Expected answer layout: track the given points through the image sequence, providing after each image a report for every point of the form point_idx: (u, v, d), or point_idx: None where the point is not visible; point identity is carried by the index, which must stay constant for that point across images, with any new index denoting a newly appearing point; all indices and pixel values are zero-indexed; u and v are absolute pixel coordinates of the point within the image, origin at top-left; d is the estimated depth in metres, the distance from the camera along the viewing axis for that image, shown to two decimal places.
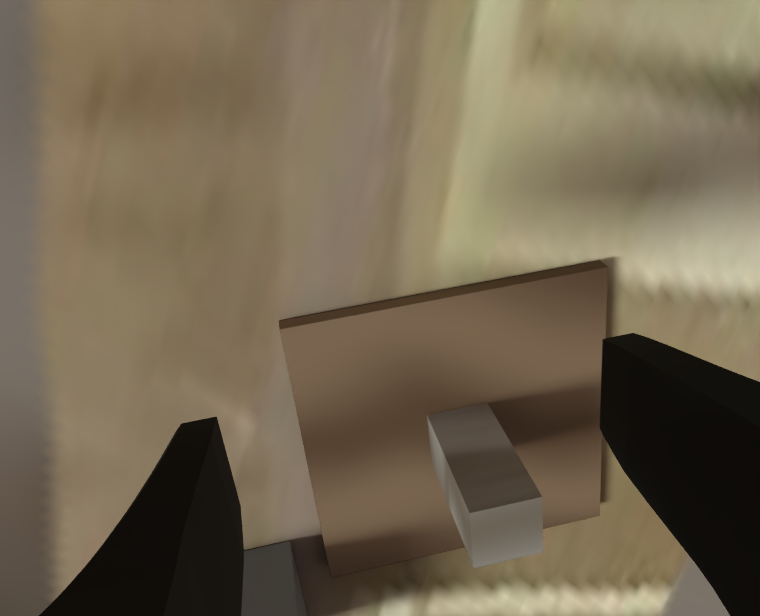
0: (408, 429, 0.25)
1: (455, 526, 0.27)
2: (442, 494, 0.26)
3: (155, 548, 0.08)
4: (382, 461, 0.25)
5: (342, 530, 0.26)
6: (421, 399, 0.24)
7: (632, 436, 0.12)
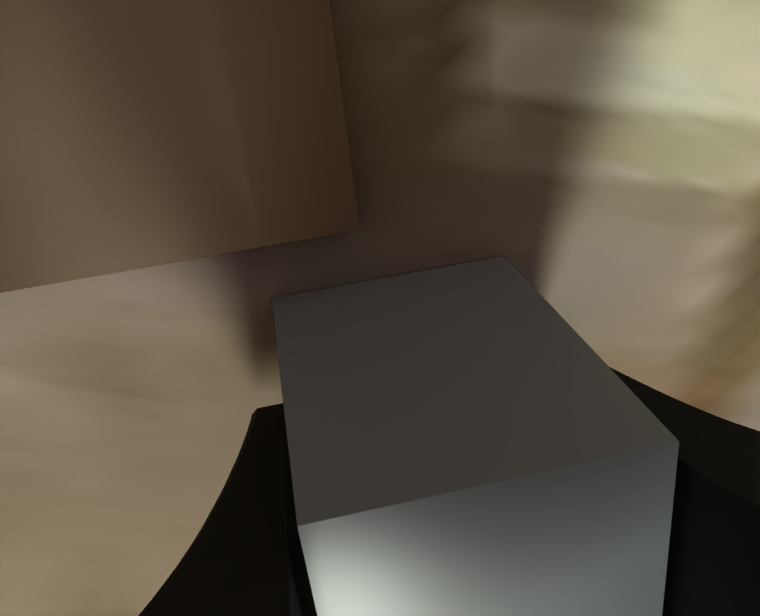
0: None
1: None
2: None
3: (260, 525, 0.09)
4: (4, 121, 0.10)
5: (220, 209, 0.11)
6: None
7: None
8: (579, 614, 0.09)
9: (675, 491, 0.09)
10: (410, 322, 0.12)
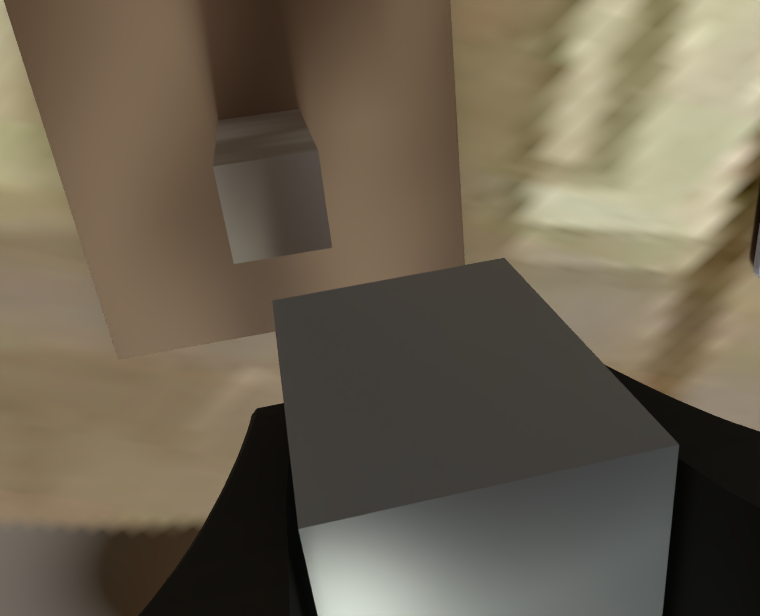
0: None
1: (418, 147, 0.20)
2: (361, 169, 0.20)
3: (261, 524, 0.09)
4: None
5: None
6: (210, 207, 0.20)
7: None
8: None
9: (675, 491, 0.09)
10: (411, 324, 0.12)
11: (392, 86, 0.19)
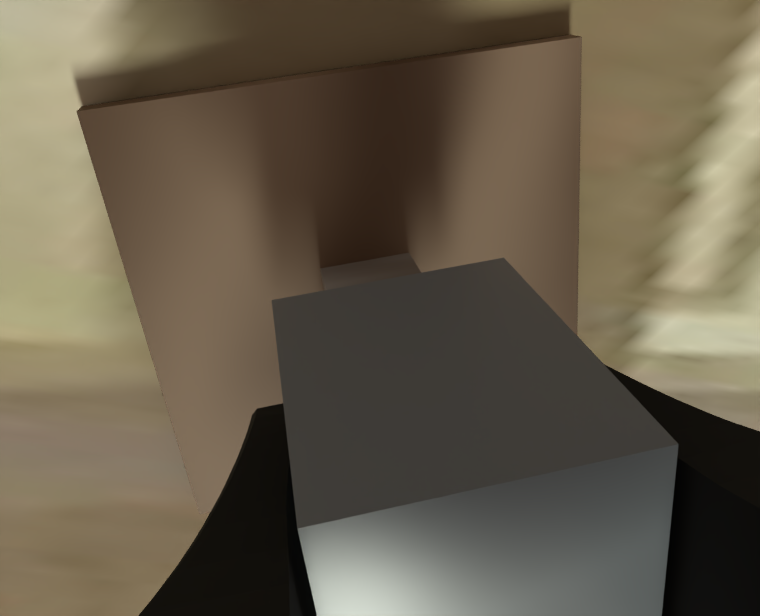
0: None
1: (535, 285, 0.18)
2: None
3: (260, 525, 0.09)
4: None
5: None
6: None
7: None
8: None
9: (675, 491, 0.09)
10: (410, 323, 0.12)
11: (511, 225, 0.17)
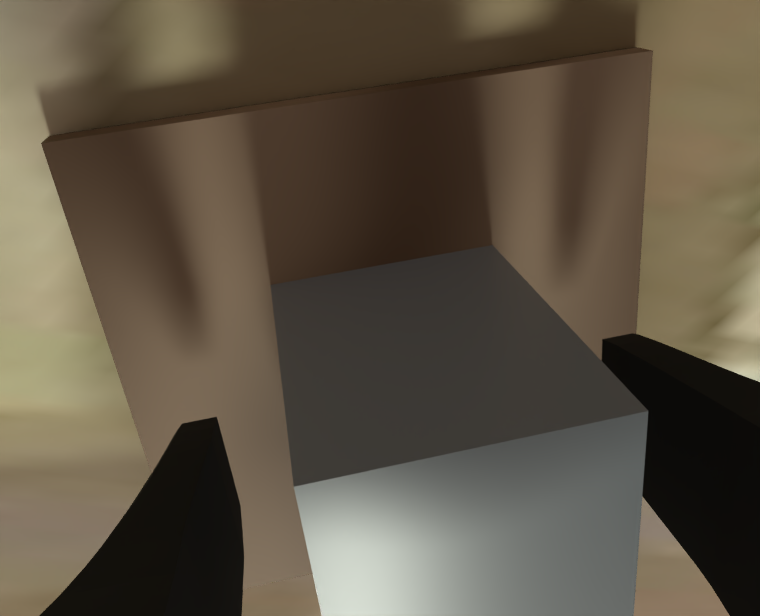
0: None
1: (587, 339, 0.16)
2: None
3: (154, 548, 0.08)
4: None
5: None
6: None
7: None
8: (558, 575, 0.10)
9: None
10: (402, 306, 0.12)
11: (561, 271, 0.15)
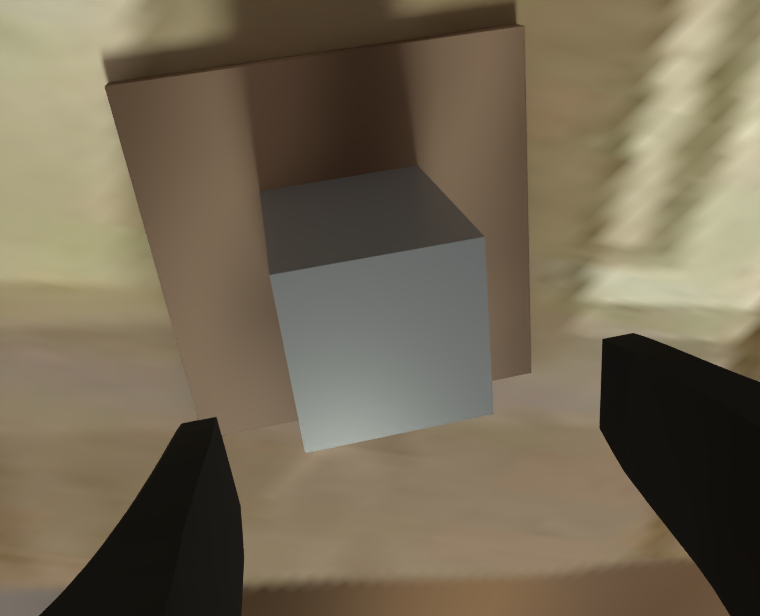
0: None
1: (491, 239, 0.21)
2: None
3: (154, 548, 0.08)
4: None
5: None
6: None
7: (632, 436, 0.12)
8: (438, 352, 0.16)
9: None
10: (348, 198, 0.18)
11: (469, 186, 0.20)
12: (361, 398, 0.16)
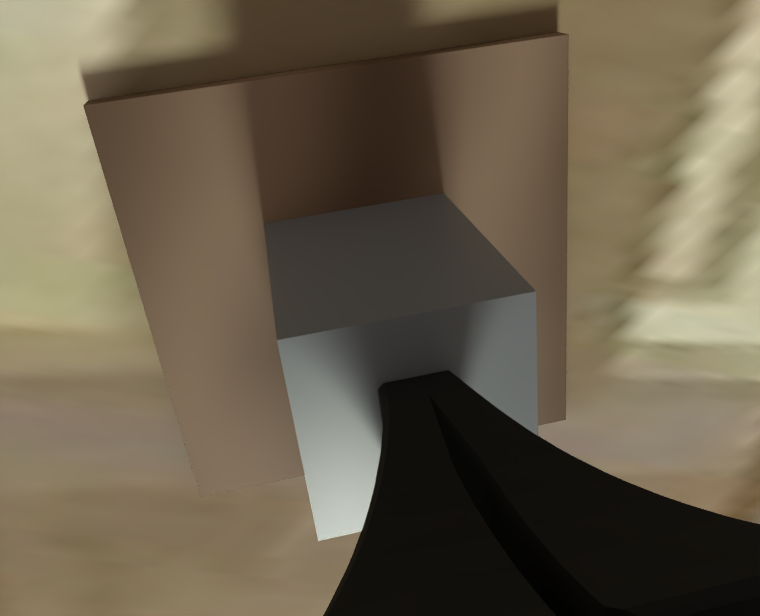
0: None
1: (525, 274, 0.19)
2: None
3: (437, 486, 0.09)
4: None
5: None
6: None
7: None
8: None
9: (507, 530, 0.09)
10: (366, 234, 0.15)
11: (502, 216, 0.18)
12: None
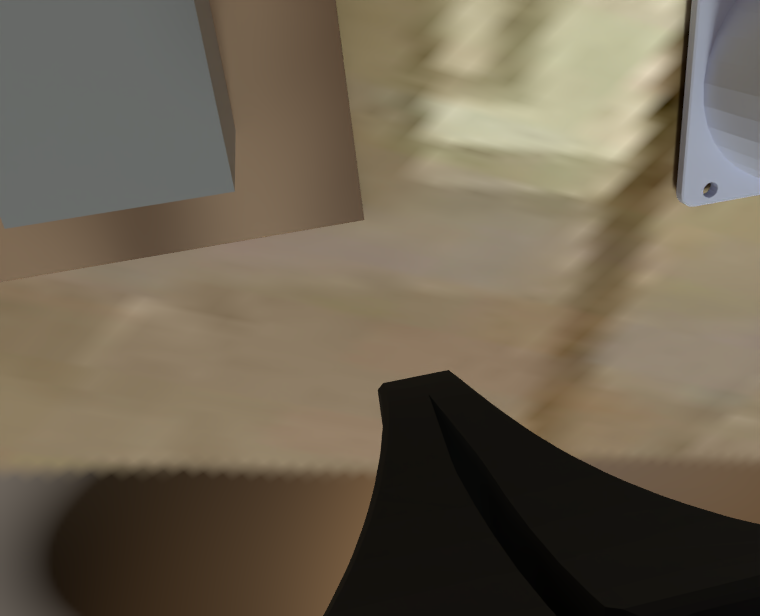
0: None
1: (298, 50, 0.19)
2: (237, 74, 0.19)
3: (437, 486, 0.09)
4: None
5: (286, 208, 0.21)
6: None
7: None
8: (150, 102, 0.13)
9: (507, 530, 0.09)
10: None
11: None
12: (62, 158, 0.13)
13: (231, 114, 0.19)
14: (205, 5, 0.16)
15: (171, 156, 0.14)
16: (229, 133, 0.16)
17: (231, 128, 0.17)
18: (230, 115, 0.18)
